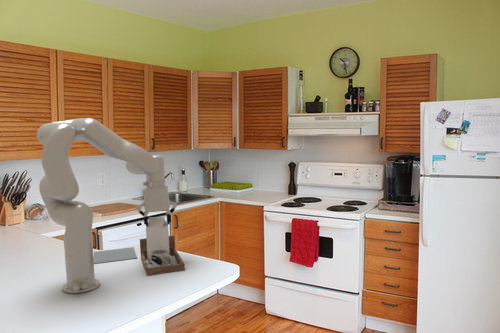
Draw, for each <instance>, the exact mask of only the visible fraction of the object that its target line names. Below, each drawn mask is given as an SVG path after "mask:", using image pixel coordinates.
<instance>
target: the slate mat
mask: <svg viewBox="0 0 500 333" xmlns="http://www.w3.org/2000/svg"><path fill="white" fill-rule="evenodd" d="M93 259H94V265H97V264H105V263H113V262H121V261H127V260H128V261H129V260H130V261H131V260H136V259H138V257H137V253H136V251H135V248H134V246H133V247H125V248H116V249H107V250H100V251H99V250H98V251H93Z"/></svg>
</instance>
